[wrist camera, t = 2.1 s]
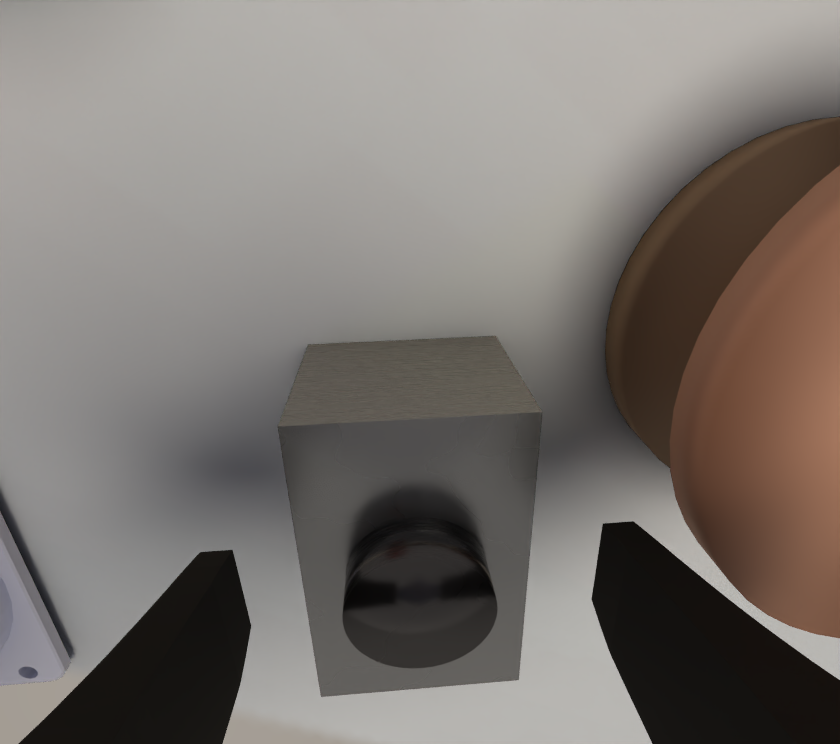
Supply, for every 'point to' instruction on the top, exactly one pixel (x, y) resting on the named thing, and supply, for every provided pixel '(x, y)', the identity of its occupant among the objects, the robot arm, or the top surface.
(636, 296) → the stand
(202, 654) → the robot arm
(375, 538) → the block
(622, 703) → the top surface
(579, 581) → the top surface
